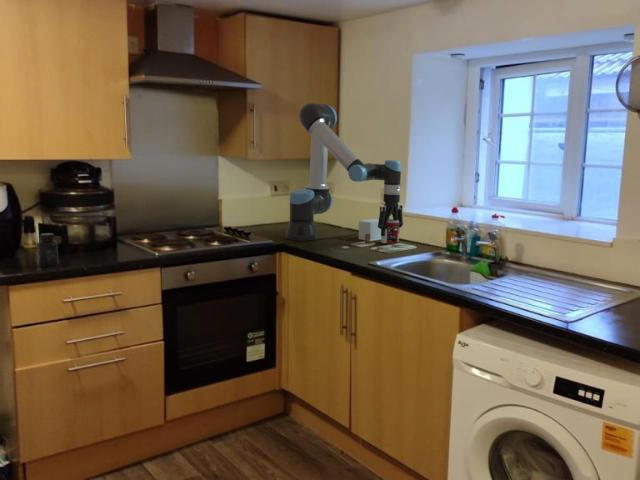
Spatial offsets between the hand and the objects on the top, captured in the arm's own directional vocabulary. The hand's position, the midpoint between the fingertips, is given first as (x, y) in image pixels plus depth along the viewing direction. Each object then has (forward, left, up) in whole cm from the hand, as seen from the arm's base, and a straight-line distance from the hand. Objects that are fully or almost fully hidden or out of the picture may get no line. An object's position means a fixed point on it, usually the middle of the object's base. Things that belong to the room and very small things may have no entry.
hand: (389, 241), depth 288 cm
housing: (-14, +3, -1) cm, 14 cm away
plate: (-5, -13, -1) cm, 14 cm away
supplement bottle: (-49, -139, -1) cm, 147 cm away
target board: (+10, -9, -1) cm, 14 cm away
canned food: (0, 0, -1) cm, 1 cm away
